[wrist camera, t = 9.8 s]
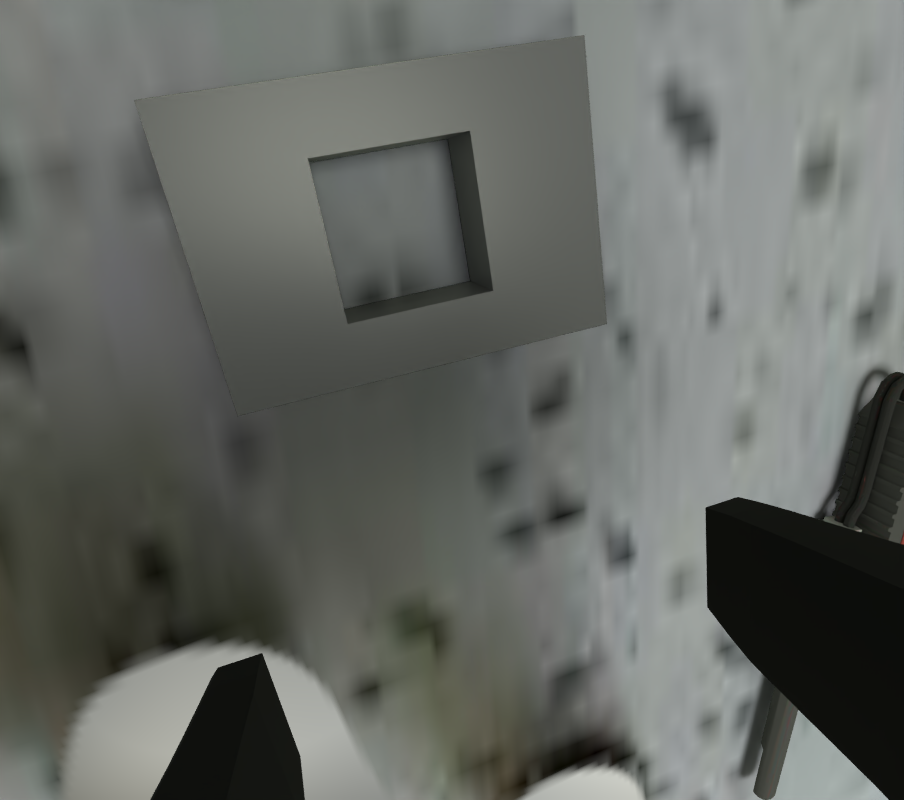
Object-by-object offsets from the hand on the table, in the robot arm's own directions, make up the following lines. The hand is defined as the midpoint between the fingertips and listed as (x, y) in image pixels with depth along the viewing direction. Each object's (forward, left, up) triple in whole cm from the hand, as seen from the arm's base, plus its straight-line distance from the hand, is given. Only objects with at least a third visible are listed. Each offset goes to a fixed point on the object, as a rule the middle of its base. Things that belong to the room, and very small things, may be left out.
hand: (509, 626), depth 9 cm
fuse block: (+1, +6, -9) cm, 11 cm away
